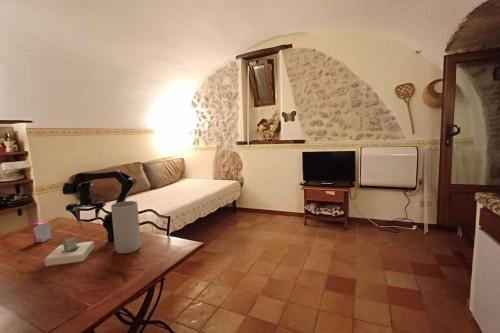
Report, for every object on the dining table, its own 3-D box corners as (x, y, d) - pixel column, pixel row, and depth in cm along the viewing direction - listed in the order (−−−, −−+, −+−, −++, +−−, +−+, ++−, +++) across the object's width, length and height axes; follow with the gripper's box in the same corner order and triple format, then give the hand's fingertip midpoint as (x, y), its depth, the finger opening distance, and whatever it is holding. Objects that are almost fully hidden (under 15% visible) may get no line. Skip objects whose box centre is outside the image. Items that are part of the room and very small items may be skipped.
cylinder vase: (130, 255, 130) (126, 207, 126) (109, 253, 132) (105, 207, 129) (145, 244, 142) (142, 201, 139) (126, 243, 144) (122, 200, 141)
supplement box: (51, 238, 153) (49, 220, 152) (43, 243, 147) (40, 224, 146) (43, 238, 154) (40, 220, 152) (34, 242, 148) (31, 224, 146)
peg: (77, 255, 131) (75, 237, 129) (69, 258, 127) (66, 240, 126) (73, 253, 133) (71, 236, 131) (65, 257, 129) (62, 239, 128)
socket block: (94, 247, 140) (93, 241, 139) (83, 261, 124) (82, 254, 124) (60, 251, 136) (59, 245, 135) (45, 266, 120) (44, 259, 120)
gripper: (107, 189, 155) (109, 214, 157) (72, 192, 150) (75, 217, 152) (101, 193, 144) (104, 220, 146) (63, 196, 139) (67, 223, 141)
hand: (87, 220), depth 146 cm, fingers open, 9 cm apart
